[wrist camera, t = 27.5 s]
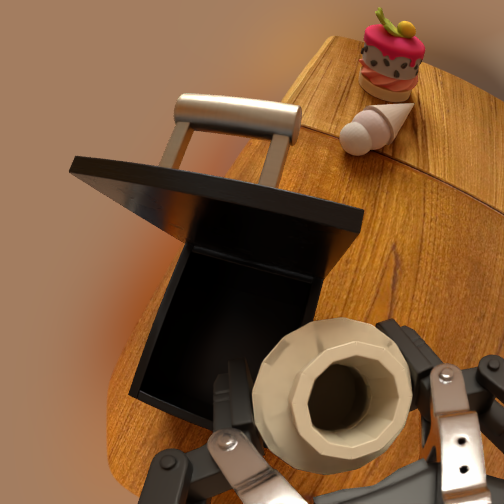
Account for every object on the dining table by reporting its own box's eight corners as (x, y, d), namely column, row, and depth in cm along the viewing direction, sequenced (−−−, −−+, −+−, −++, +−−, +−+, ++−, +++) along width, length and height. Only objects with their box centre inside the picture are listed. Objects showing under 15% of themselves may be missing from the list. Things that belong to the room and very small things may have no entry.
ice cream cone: (411, 123, 41) (344, 167, 41) (393, 89, 39) (322, 129, 39) (436, 119, 35) (366, 166, 35) (417, 81, 33) (342, 123, 33)
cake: (404, 75, 47) (420, 12, 33) (417, 108, 42) (441, 38, 29) (353, 67, 48) (362, -1, 34) (360, 98, 44) (374, 21, 30)
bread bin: (274, 430, 26) (272, 450, 18) (166, 393, 29) (127, 394, 21) (312, 304, 31) (324, 276, 23) (208, 275, 34) (186, 240, 25)
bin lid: (360, 234, 9) (380, 93, 10) (67, 172, 11) (120, 69, 12) (323, 280, 23) (340, 210, 24) (183, 242, 25) (204, 180, 26)
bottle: (342, 446, 14) (411, 505, 5) (249, 423, 15) (217, 469, 6) (369, 357, 16) (460, 322, 7) (279, 334, 18) (282, 276, 8)
